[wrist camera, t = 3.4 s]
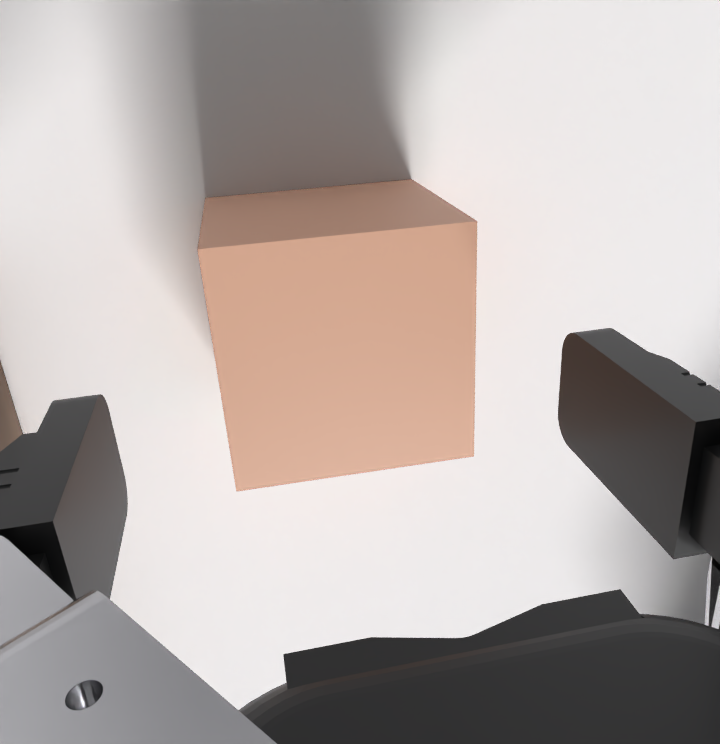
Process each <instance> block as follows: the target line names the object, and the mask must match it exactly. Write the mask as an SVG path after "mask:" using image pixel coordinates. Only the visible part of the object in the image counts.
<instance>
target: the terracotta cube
mask: <svg viewBox="0 0 720 744" xmlns="http://www.w3.org/2000/svg"><path fill="white" fill-rule="evenodd" d="M197 250H198V256H199V262H200V268H201V275H202V281H203V287H204V293H205V299H206V305H207V312H208V318H209V324H210V330H211V336H212V343H213V349H214V355H215V361H216V367H217V374H218V380H219V386H220V392H221V398H222V405H223V411H224V417H225V423H226V429H227V436H228V442H229V448H230V454H231V460H232V467H233V473H234V479H235V485H236V491H243V490H250V489H256V488H263V487H270V486H277V485H283V484H290V483H297V482H304V481H310V480H317V479H324V478H331V477H337V476H344V475H351V474H358V473H364V472H371V471H378V470H385V469H391V468H398V467H405V466H412V465H418V464H425V463H432V462H439V461H445V460H452V459H459V458H466V457H473V456H474V411H475V339H476V267H477V221H476V220H474V219H473V218H471V217H470V216H468V215H467V214H465V213H464V212H462V211H460V210H459V209H457V208H456V207H454V206H453V205H451V204H450V203H448V202H446V201H445V200H443V199H442V198H440V197H439V196H437V195H435V194H434V193H432V192H431V191H429V190H428V189H426V188H425V187H423V186H421V185H420V184H418V183H417V182H415V181H414V180H412V179H408V180H397V181H386V182H375V183H364V184H353V185H342V186H331V187H320V188H309V189H298V190H286V191H275V192H264V193H253V194H242V195H231V196H220V197H209V198H205V203H204V210H203V216H202V223H201V229H200V236H199V242H198V249H197Z"/></svg>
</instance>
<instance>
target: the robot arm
mask: <svg viewBox="0 0 720 744" xmlns="http://www.w3.org/2000/svg"><path fill="white" fill-rule="evenodd" d="M558 420H559V426H560V430H561V433H562V436H563V438H564V441H565V442H566V444H567V445H568V446H569V448H570V449H571V450H572V451H573V452H574V453H575V454H576V455H577V456H578V457H579V458H580V459H581V460H582V462H583V463H584V464H585V465H586V466H587V467H588V468H589V469H590V470H591V471H592V472H593V473H594V474H595V475H596V477H597V478H598V479H599V480H600V481H601V482H602V483H603V484H604V485H605V486H606V487H607V488H608V489H609V490H610V492H611V493H612V494H613V495H614V496H615V497H616V498H617V499H618V500H619V501H620V502H621V503H622V504H623V505H624V507H625V508H626V509H627V510H628V511H629V512H630V513H631V514H632V515H633V516H634V517H635V518H636V519H637V520H638V522H639V523H640V524H641V525H642V526H643V527H644V528H645V529H646V530H647V531H648V532H649V533H650V534H651V535H652V537H653V538H654V539H655V540H656V541H657V542H658V543H659V544H660V545H661V546H662V547H663V548H664V549H665V551H666V552H667V553H668V554H669V555H670V556H671V557H672V558H673V559H677V558H683V557H688V556H693V555H699V554H704V553H709V554H710V555H711V560H710V566H709V571H708V576H707V592H706V609H705V625H704V624H700V623H696V622H693V621H689V620H684V619H678V618H673V617H668V616H658V615H649V614H639V613H638V612H637V610H636V609H635V608H634V606H633V605H632V604H631V603H630V601H629V600H628V599H627V597H626V596H625V595H624V594H623V592H622V591H621V590H620V589H619V590H614V591H609V592H604V593H599V594H594V595H588V596H583V597H578V598H573V599H568V600H562V601H557V602H552V603H547V604H542V605H540V606H537V607H535V608H533V609H531V610H528V611H526V612H524V613H522V614H520V615H517V616H515V617H513V618H511V619H508V620H506V621H504V622H502V623H499V624H497V625H495V626H493V627H490V628H488V629H486V630H484V631H481V632H479V633H477V634H475V635H472V636H469V637H465V638H376V637H371V638H365V639H360V640H355V641H350V642H345V643H340V644H334V645H329V646H324V647H319V648H314V649H308V650H303V651H298V652H293V653H288V654H283V655H284V664H285V672H286V681H287V683H285V684H283V685H281V686H279V687H277V688H274V689H272V690H270V691H269V692H267V693H265V694H263V695H262V696H260V697H258V698H256V699H255V700H253V701H251V702H250V703H248V704H247V705H245V706H244V707H243V708H241V709H240V710H237V709H236V708H235V707H234V706H233V705H231V704H230V703H229V702H228V701H227V700H226V699H224V698H223V697H222V696H221V695H220V694H219V693H218V692H216V691H215V690H214V689H213V688H212V687H211V686H209V685H208V684H207V683H206V682H205V681H204V680H202V679H201V678H200V677H199V676H198V675H197V674H196V673H194V672H193V671H192V670H191V669H190V668H189V667H187V666H186V665H185V664H184V663H183V662H182V661H180V660H179V659H178V658H177V657H176V656H175V655H173V654H172V653H171V652H170V651H169V650H168V649H167V648H165V647H164V646H163V645H162V644H161V643H160V642H158V641H157V640H156V639H155V638H154V637H153V636H151V635H150V634H149V633H148V632H147V631H146V630H145V629H143V628H142V627H141V626H140V625H139V624H138V623H136V622H135V621H134V620H133V619H132V618H131V617H129V616H128V615H127V614H126V613H125V612H124V611H122V610H121V609H120V608H119V607H118V606H117V605H116V604H114V603H113V602H112V601H111V600H110V595H111V590H112V585H113V580H114V575H115V570H116V565H117V561H118V556H119V551H120V546H121V541H122V536H123V531H124V526H125V521H126V516H127V505H128V503H127V488H126V481H125V476H124V472H123V467H122V463H121V459H120V455H119V451H118V446H117V442H116V438H115V434H114V430H113V426H112V421H111V417H110V413H109V409H108V406H107V403H106V400H105V398H104V397H103V395H101V394H100V395H92V396H85V397H77V398H70V399H62V400H54V401H53V402H52V403H51V405H50V407H49V409H48V411H47V413H46V415H45V417H44V419H43V421H42V423H41V425H40V427H39V429H38V431H37V433H30V434H22V435H21V436H19V437H18V438H17V439H16V440H14V441H13V442H12V443H11V444H9V445H8V446H7V447H6V448H4V449H3V450H2V451H1V452H0V744H720V391H718V390H717V389H715V388H714V387H712V386H711V385H707V386H706V382H704V381H703V380H701V379H700V378H698V377H697V376H695V375H690V373H689V371H687V370H686V369H684V368H683V367H681V366H679V365H678V364H676V363H675V362H673V361H672V360H670V359H667V358H664V357H662V356H659V355H656V354H653V353H650V352H648V351H646V350H644V349H643V348H641V347H640V346H638V345H637V344H635V343H634V342H632V341H631V340H629V339H628V338H626V337H625V336H623V335H622V334H620V333H619V332H617V331H615V330H614V329H612V328H606V329H598V330H591V331H583V332H576V333H570V334H568V335H567V336H566V338H565V340H564V343H563V348H562V361H561V376H560V391H559V406H558Z"/></svg>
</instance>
